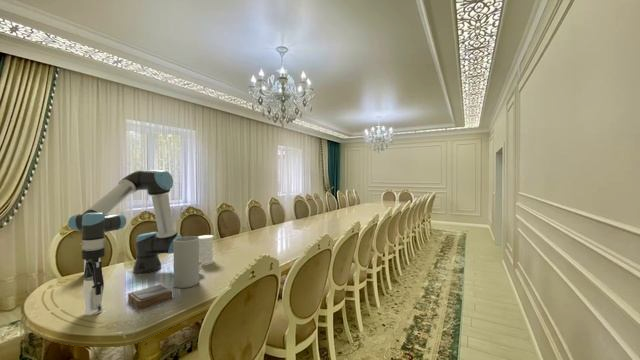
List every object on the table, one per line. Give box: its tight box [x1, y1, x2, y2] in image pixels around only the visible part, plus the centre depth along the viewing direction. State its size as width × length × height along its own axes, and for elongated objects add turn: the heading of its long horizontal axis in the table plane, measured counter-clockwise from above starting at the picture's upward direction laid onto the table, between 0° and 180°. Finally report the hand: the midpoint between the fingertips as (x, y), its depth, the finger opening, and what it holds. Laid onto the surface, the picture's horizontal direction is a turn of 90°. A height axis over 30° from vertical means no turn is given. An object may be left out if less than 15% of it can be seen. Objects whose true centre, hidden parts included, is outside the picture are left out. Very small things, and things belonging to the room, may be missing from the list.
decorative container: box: [197, 234, 215, 266], centre depth 186 cm, size 12×12×18 cm
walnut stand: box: [127, 284, 173, 311], centre depth 129 cm, size 14×14×4 cm
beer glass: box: [82, 276, 105, 317], centre depth 117 cm, size 7×7×15 cm
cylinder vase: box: [173, 235, 200, 289], centre depth 149 cm, size 12×12×25 cm
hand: (93, 297), depth 117 cm, fingers open, 13 cm apart
